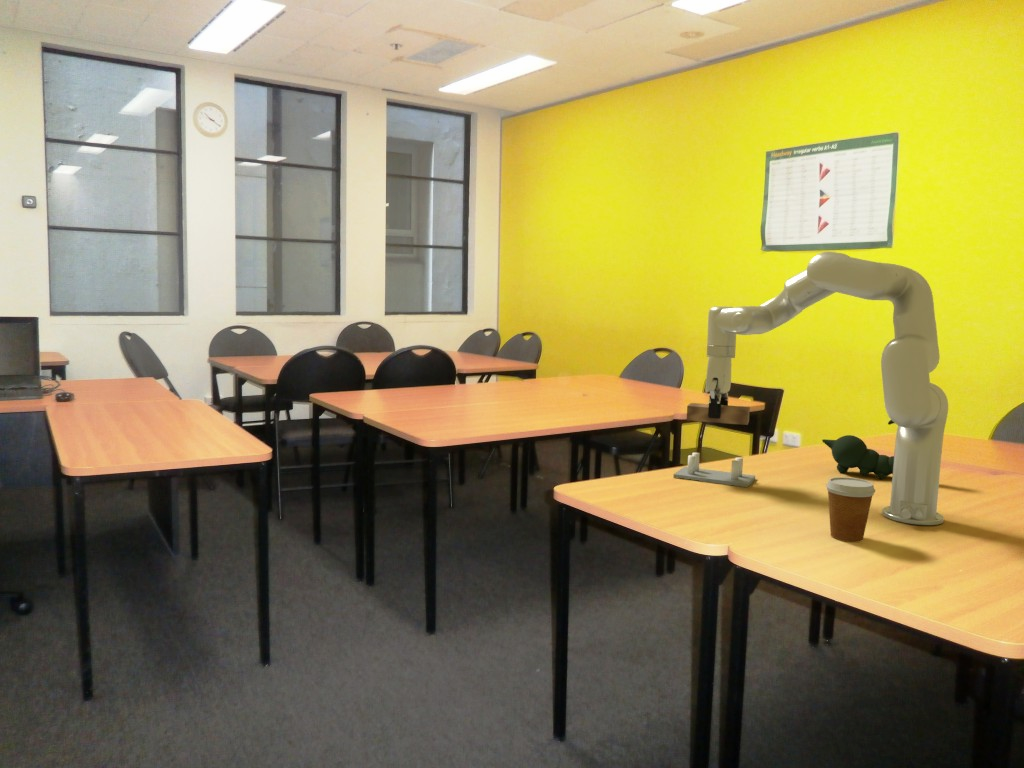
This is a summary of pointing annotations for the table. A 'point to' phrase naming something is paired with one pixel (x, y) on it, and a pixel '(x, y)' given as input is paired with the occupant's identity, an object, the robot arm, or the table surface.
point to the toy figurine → (859, 456)
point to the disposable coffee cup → (849, 507)
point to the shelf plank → (727, 414)
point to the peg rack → (715, 473)
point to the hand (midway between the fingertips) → (717, 415)
